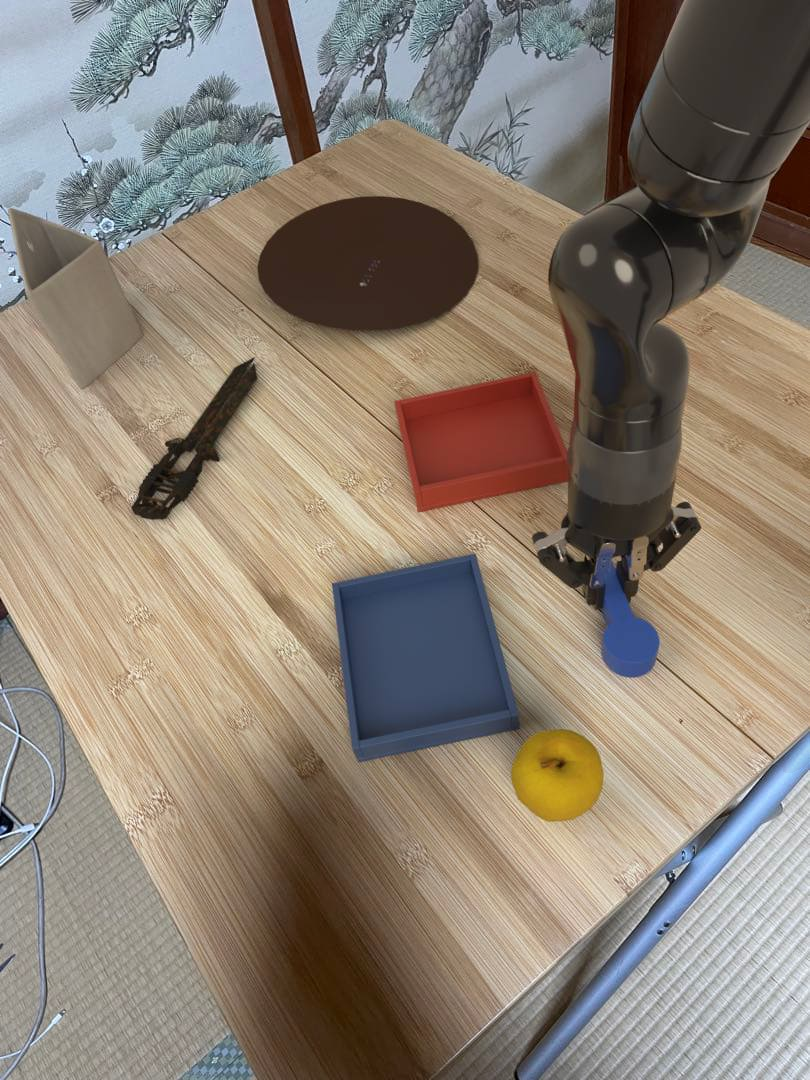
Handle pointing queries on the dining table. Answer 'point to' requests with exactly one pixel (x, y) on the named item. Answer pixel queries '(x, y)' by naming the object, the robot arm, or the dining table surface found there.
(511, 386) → the red tray
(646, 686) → the dining table surface
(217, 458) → the knife
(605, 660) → the spoon
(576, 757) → the apple
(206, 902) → the dining table surface
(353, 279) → the plate
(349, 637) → the blue tray
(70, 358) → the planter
